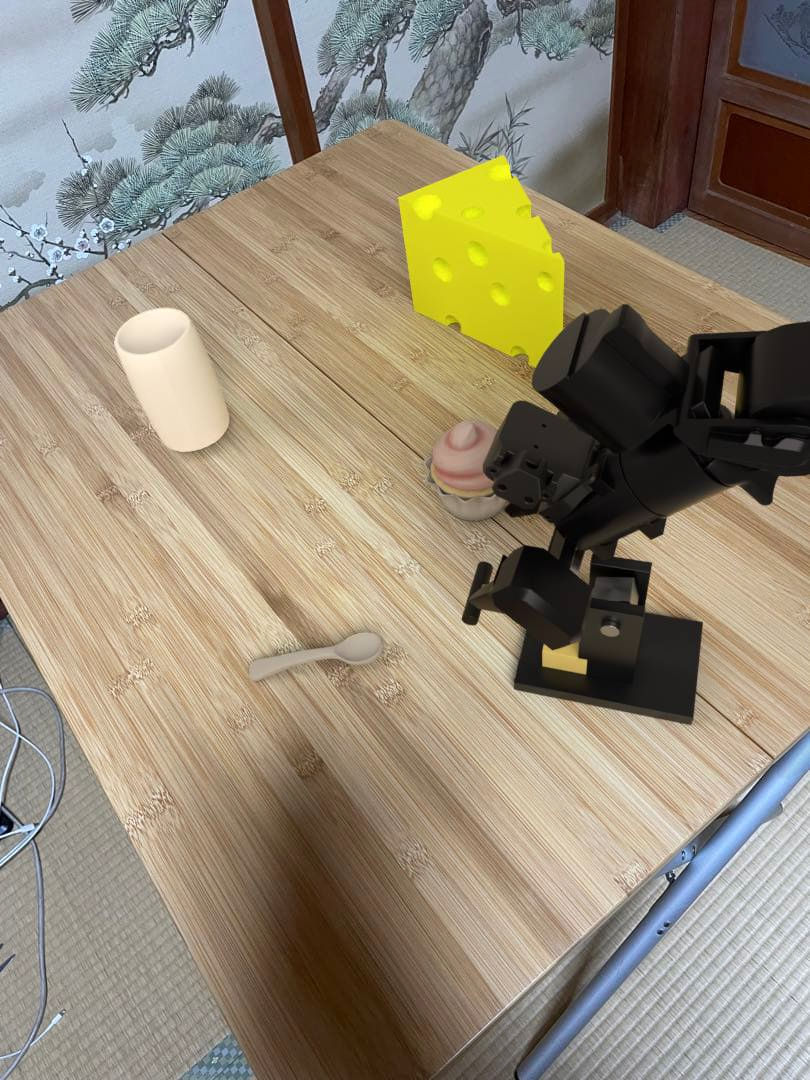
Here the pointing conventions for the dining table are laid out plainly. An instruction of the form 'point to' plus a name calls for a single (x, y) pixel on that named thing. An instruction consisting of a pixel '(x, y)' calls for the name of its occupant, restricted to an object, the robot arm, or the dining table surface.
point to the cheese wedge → (484, 260)
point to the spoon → (322, 655)
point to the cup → (173, 378)
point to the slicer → (624, 655)
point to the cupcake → (464, 471)
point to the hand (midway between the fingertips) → (491, 556)
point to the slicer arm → (604, 589)
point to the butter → (564, 659)
